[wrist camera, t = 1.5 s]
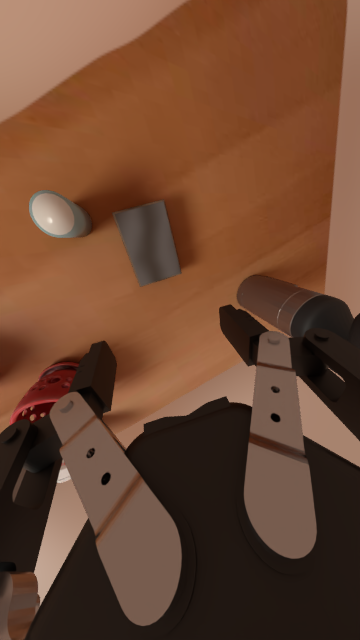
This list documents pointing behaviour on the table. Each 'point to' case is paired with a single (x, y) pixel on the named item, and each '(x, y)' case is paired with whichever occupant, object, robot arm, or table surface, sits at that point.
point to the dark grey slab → (148, 241)
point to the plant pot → (45, 391)
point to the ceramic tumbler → (59, 215)
